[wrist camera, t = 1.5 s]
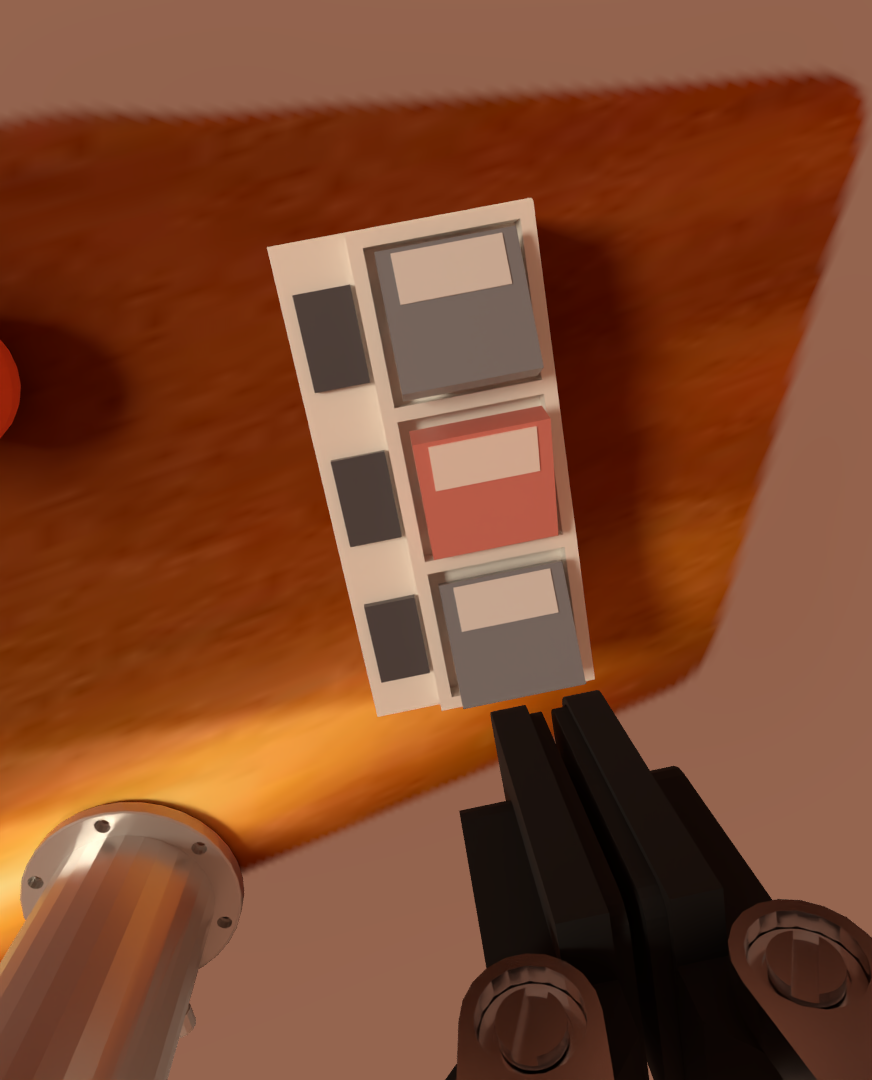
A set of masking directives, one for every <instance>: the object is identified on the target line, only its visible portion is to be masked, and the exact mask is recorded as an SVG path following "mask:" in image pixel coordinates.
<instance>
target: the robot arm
mask: <svg viewBox="0 0 872 1080" xmlns="http://www.w3.org/2000/svg"><path fill="white" fill-rule="evenodd" d="M562 705H563V707H561V708H556V709H552V711H551V714H552V722H553V729H554V735H555V741H554V739H553V737H552V734H551V732H550V730H549V727H548V725H547V723H546V721H545V718H544V716H543V714H542V712H537V713H532V714H529V712H528V709H527V707H526V706H525V705H523V706H518V707H513V708H508V709H503V710H499V711H494V712H491V721H492V727H493V732H494V738H495V743H496V749H497V754H498V760H499V765H500V771H501V776H502V781H503V787H504V793H505V798H506V801H504V802H499V803H495V804H490V805H485V806H480V807H475V808H471V809H466V810H461V811H460V817H461V823H462V829H463V835H464V840H465V846H466V852H467V858H468V864H469V869H470V875H471V881H472V887H473V892H474V898H475V904H476V909H477V915H478V921H479V927H480V933H481V939H482V944H483V950H484V956H485V962H486V968H487V969H486V970H484V971H483V973H482V974H480V975H479V976H478V977H477V978H476V979H475V980H474V981H473V983H472V984H471V986H470V988H469V990H468V992H467V993H466V995H465V997H464V999H463V1001H462V1006H461V1011H460V1017H459V1023H458V1024H459V1025H458V1051H457V1064H456V1066H455V1067H454V1068H453V1070H452V1071H451V1073H450V1074H449V1075H448V1077H447V1078H446V1080H649V1075H648V1067H647V1063H648V1066H649V1068H650V1071H651V1074H652V1076H653V1079H654V1080H872V938H871V937H870V936H869V935H868V934H867V933H866V932H865V931H864V930H862V929H861V928H860V927H858V926H857V925H856V924H855V923H853V922H852V921H851V920H849V919H848V918H847V917H845V916H843V915H841V914H839V913H837V912H835V911H833V910H831V909H828V908H826V907H824V906H821V905H817V904H813V903H809V902H806V901H802V900H787V899H777V900H772V899H771V897H770V896H769V895H768V893H767V892H766V891H765V889H764V887H763V886H762V885H761V883H760V882H759V880H758V879H757V878H756V876H755V875H754V873H753V872H752V870H751V869H750V867H749V866H748V865H747V863H746V862H745V860H744V859H743V858H742V856H741V855H740V853H739V852H738V850H737V849H736V848H735V846H734V845H733V843H732V842H731V840H730V839H729V837H728V836H727V835H726V833H725V832H724V830H723V829H722V827H721V826H720V824H719V823H718V822H717V820H716V819H715V817H714V816H713V815H712V813H711V812H710V810H709V809H708V807H707V806H706V805H705V803H704V802H703V800H702V799H701V797H700V796H699V794H698V793H697V792H696V790H695V789H694V787H693V786H692V784H691V783H690V782H689V780H688V779H687V777H686V776H685V774H684V773H683V772H682V771H681V770H680V769H679V768H678V767H676V766H671V767H666V768H662V769H657V770H652V771H650V770H649V769H648V767H647V765H646V764H645V762H644V761H643V759H642V758H641V756H640V754H639V753H638V751H637V749H636V748H635V746H634V745H633V743H632V742H631V740H630V738H629V737H628V735H627V733H626V732H625V730H624V729H623V727H622V725H621V724H620V722H619V721H618V719H617V717H616V716H615V714H614V713H613V711H612V709H611V708H610V706H609V705H608V703H607V701H606V700H605V698H604V697H603V695H602V693H601V692H600V691H599V690H596V691H591V692H586V693H581V694H576V695H571V696H566V697H563V699H562ZM555 742H556V744H555ZM243 898H244V887H243V877H242V874H241V871H240V868H239V865H238V862H237V860H236V858H235V857H234V855H233V853H232V851H231V850H230V848H229V846H228V845H227V844H226V843H225V842H224V841H223V840H222V839H221V838H220V837H219V835H218V834H217V833H216V832H214V831H213V830H212V829H210V828H209V827H208V826H206V825H205V824H204V823H202V822H201V821H199V820H197V819H195V818H193V817H191V816H190V815H188V814H186V813H184V812H181V811H178V810H175V809H172V808H169V807H166V806H163V805H156V804H150V803H143V802H118V803H112V804H106V805H100V806H96V807H93V808H91V809H88V810H85V811H82V812H79V813H77V814H75V815H74V816H72V817H70V818H68V819H66V820H65V821H63V822H61V823H60V824H59V825H58V826H57V827H55V828H54V829H53V830H52V831H51V832H50V833H48V834H47V836H46V837H45V838H44V840H43V841H42V842H41V844H40V845H39V846H38V847H37V849H36V850H35V852H34V854H33V855H32V857H31V859H30V860H29V862H28V864H27V866H26V868H25V871H24V874H23V877H22V881H21V894H20V901H21V906H22V911H23V916H24V918H25V920H26V921H25V923H24V924H23V926H22V928H21V929H20V931H19V933H18V934H17V936H16V938H15V939H14V941H13V943H12V944H11V946H10V948H9V949H8V951H7V953H6V954H5V956H4V958H3V959H2V961H1V963H0V1080H167V1079H168V1076H169V1072H170V1068H171V1065H172V1061H173V1058H174V1054H175V1051H176V1047H177V1044H178V1040H179V1037H183V1036H185V1035H187V1034H188V1033H190V1032H191V1031H192V1030H193V1028H194V1026H195V1024H196V1019H195V1016H194V1014H193V1010H192V1008H191V1005H190V1004H189V1000H190V997H191V994H192V990H193V986H194V983H195V979H196V976H197V972H198V969H199V968H201V967H203V966H204V965H206V964H207V963H208V962H210V961H211V960H212V959H213V958H215V957H216V956H217V955H218V954H219V953H220V952H221V950H222V949H223V948H224V947H225V946H226V945H227V944H228V942H229V941H230V939H231V937H232V935H233V933H234V931H235V930H236V928H237V924H238V921H239V917H240V914H241V910H242V904H243Z"/></svg>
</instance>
